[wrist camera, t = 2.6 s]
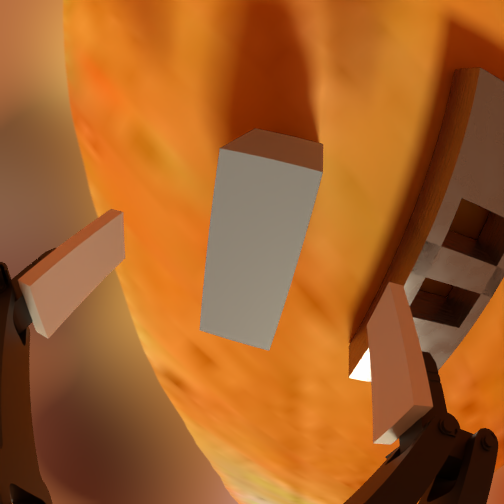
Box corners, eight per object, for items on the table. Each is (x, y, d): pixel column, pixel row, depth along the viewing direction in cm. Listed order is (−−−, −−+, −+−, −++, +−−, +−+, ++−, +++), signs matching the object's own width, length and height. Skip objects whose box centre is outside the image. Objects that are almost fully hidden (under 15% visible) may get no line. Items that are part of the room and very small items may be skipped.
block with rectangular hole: (454, 69, 14) (480, 67, 11) (532, 116, 13) (561, 125, 10) (348, 346, 28) (348, 377, 25) (416, 359, 27) (421, 389, 24)
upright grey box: (266, 122, 20) (219, 148, 11) (323, 136, 19) (322, 172, 11) (243, 245, 25) (199, 330, 17) (291, 257, 25) (269, 350, 16)
